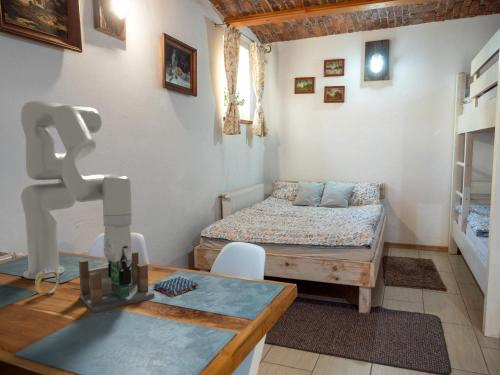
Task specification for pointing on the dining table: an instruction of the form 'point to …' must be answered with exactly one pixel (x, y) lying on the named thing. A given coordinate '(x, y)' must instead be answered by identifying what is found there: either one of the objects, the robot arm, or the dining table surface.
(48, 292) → the bracelet
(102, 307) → the wooden block stand
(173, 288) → the woven mat
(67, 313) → the dining table surface
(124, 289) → the coffee box
